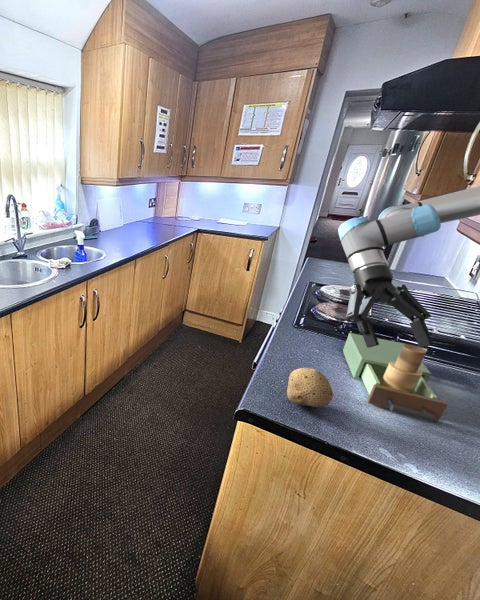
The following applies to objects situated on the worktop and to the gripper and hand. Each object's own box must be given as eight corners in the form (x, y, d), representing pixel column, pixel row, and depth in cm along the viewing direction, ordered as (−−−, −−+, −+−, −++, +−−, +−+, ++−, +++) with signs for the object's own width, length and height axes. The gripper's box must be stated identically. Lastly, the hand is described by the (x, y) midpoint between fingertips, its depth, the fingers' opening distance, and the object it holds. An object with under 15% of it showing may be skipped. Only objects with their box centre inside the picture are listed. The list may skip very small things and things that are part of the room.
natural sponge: (330, 405, 79) (343, 372, 75) (320, 424, 74) (334, 389, 70) (288, 388, 85) (298, 356, 81) (277, 404, 80) (287, 371, 76)
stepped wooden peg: (406, 388, 83) (426, 346, 78) (414, 402, 78) (437, 357, 73) (376, 381, 86) (394, 339, 81) (382, 394, 81) (402, 350, 76)
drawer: (446, 434, 70) (457, 416, 68) (372, 414, 76) (380, 396, 74) (413, 384, 87) (421, 369, 85) (354, 370, 92) (360, 356, 90)
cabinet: (419, 395, 84) (431, 373, 81) (353, 379, 90) (361, 358, 87) (398, 363, 98) (407, 344, 95) (342, 351, 104) (349, 332, 101)
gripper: (401, 276, 93) (432, 350, 85) (315, 275, 92) (339, 349, 84) (428, 264, 86) (465, 342, 78) (336, 262, 85) (363, 341, 77)
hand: (399, 346), depth 81 cm, fingers open, 13 cm apart
